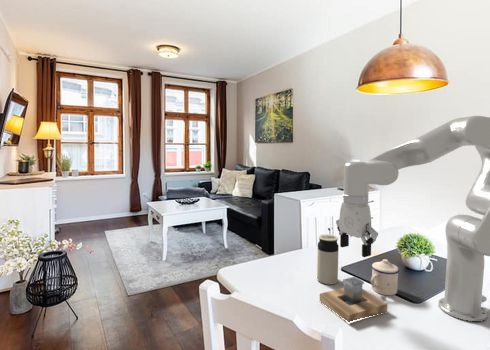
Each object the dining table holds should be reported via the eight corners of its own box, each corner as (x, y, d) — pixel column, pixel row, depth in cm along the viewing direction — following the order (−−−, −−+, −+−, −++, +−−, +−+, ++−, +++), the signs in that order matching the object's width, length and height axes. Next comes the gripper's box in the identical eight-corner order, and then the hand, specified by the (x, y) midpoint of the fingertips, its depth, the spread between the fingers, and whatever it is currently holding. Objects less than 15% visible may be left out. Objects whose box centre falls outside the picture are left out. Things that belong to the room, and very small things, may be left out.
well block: (355, 292, 106) (355, 284, 106) (387, 312, 93) (387, 303, 93) (319, 301, 100) (319, 293, 99) (348, 324, 87) (348, 315, 87)
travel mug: (338, 285, 111) (339, 240, 109) (317, 284, 113) (318, 239, 111) (336, 276, 119) (337, 234, 117) (316, 275, 120) (317, 233, 119)
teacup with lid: (380, 282, 114) (382, 253, 113) (403, 292, 106) (404, 261, 105) (360, 289, 108) (361, 259, 107) (382, 300, 100) (383, 268, 99)
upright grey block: (355, 301, 99) (355, 276, 98) (363, 307, 96) (364, 281, 95) (341, 305, 97) (342, 279, 96) (349, 311, 93) (350, 284, 92)
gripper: (328, 196, 99) (328, 244, 101) (367, 205, 83) (366, 262, 85) (345, 195, 102) (345, 241, 104) (386, 203, 86) (385, 258, 88)
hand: (354, 251), depth 94 cm, fingers open, 9 cm apart
